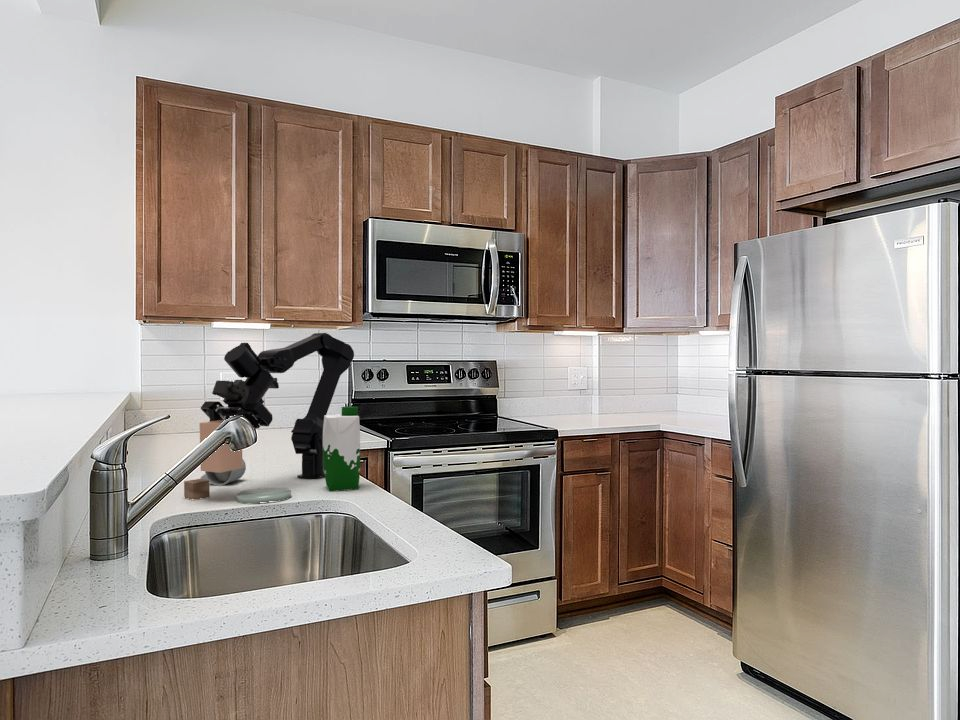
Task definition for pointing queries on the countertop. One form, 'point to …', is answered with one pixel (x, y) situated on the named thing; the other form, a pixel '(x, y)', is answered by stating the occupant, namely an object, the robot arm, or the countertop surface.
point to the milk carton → (342, 449)
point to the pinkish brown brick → (219, 452)
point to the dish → (263, 495)
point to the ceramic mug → (224, 476)
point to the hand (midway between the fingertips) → (216, 441)
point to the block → (196, 489)
